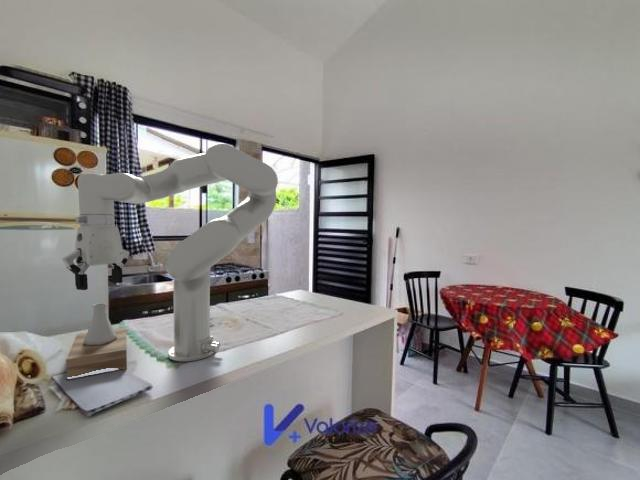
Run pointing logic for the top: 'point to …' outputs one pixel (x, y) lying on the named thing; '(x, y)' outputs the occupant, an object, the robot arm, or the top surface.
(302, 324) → the top surface
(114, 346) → the walnut riser
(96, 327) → the flask
